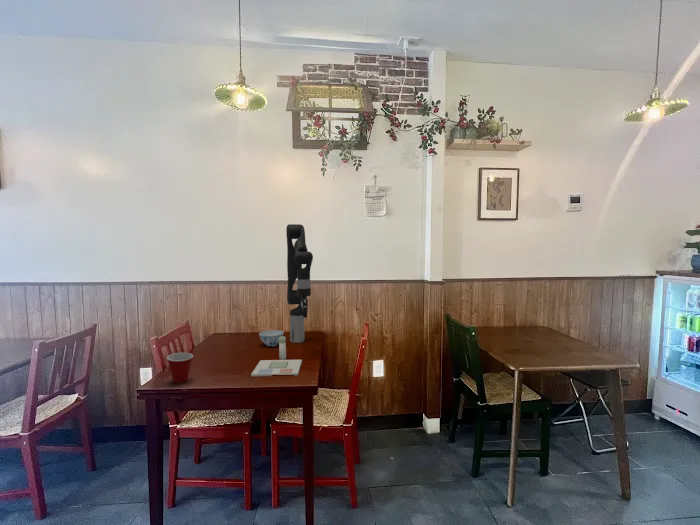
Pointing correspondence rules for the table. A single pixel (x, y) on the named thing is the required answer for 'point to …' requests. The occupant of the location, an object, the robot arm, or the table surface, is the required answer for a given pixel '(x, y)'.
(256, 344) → the table surface
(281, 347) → the marker
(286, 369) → the picture board
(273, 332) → the chinaware
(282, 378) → the table surface
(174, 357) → the plastic cup
